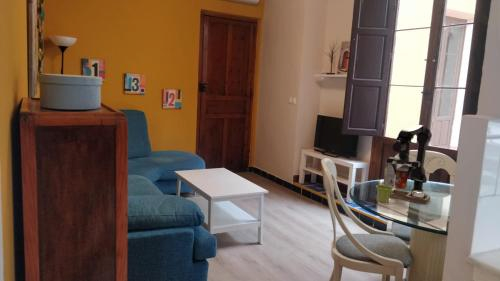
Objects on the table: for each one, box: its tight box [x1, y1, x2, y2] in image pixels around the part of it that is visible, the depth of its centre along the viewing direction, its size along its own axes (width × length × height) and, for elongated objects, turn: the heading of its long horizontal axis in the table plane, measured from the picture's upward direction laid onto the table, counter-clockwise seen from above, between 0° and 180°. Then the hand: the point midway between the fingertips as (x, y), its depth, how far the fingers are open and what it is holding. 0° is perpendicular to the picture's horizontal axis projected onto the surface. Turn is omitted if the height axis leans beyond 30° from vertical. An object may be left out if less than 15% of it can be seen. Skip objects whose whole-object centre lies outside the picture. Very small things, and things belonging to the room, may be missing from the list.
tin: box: [412, 190, 425, 199], centre depth 242 cm, size 6×6×5 cm
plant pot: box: [375, 184, 394, 203], centre depth 235 cm, size 9×9×9 cm
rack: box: [390, 188, 431, 205], centre depth 245 cm, size 12×22×2 cm, turn 56°
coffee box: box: [383, 159, 396, 186], centre depth 280 cm, size 9×6×16 cm
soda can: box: [394, 166, 409, 190], centre depth 247 cm, size 7×7×12 cm
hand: (401, 175), depth 247 cm, fingers closed on soda can, 7 cm apart
